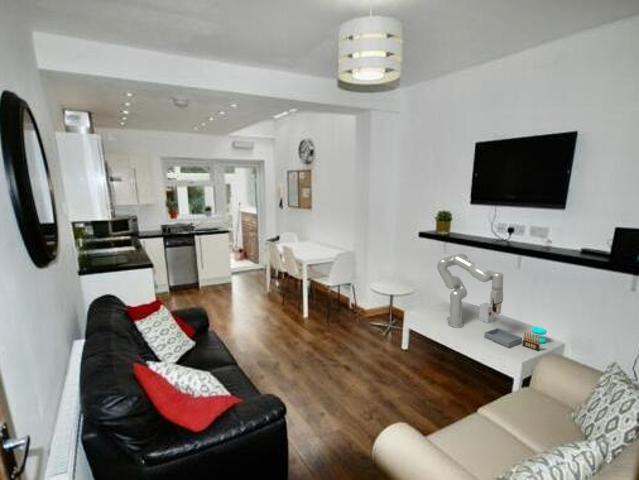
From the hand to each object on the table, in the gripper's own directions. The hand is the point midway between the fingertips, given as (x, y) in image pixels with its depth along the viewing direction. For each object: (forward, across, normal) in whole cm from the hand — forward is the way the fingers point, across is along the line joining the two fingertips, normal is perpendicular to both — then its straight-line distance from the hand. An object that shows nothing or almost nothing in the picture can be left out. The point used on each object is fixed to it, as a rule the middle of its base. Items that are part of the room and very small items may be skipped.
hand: (496, 310), depth 261 cm
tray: (+22, 0, +6) cm, 23 cm away
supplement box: (+22, -22, -24) cm, 39 cm away
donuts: (+23, -21, +20) cm, 37 cm away
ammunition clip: (+23, -5, +24) cm, 34 cm away
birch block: (+2, 0, 0) cm, 2 cm away
